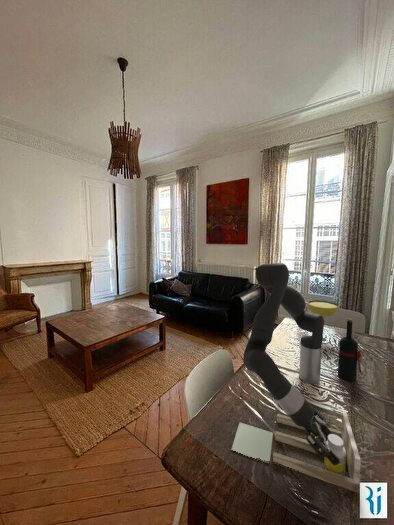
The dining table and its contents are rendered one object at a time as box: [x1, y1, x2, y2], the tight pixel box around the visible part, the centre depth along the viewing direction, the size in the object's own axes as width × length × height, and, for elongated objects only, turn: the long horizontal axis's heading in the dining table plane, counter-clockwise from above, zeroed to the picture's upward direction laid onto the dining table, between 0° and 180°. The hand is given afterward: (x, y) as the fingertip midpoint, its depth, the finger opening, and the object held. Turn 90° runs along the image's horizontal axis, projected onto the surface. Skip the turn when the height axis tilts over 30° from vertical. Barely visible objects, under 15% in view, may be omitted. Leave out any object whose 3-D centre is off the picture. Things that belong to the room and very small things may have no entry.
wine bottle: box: [337, 317, 363, 383], centre depth 109 cm, size 8×10×30 cm
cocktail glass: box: [307, 300, 339, 341], centre depth 151 cm, size 18×18×25 cm
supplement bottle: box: [323, 434, 347, 476], centre depth 67 cm, size 5×5×10 cm
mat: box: [230, 421, 274, 462], centre depth 77 cm, size 12×12×1 cm
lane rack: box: [273, 410, 362, 494], centre depth 73 cm, size 18×22×10 cm
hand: (334, 450), depth 66 cm, fingers open, 8 cm apart
